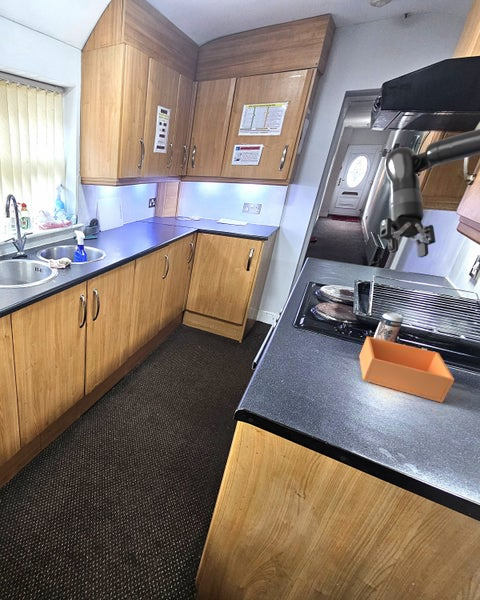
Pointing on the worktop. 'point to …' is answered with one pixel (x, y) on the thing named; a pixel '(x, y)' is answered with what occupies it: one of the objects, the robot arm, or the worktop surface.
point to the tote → (405, 369)
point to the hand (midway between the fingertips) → (408, 254)
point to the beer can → (388, 326)
